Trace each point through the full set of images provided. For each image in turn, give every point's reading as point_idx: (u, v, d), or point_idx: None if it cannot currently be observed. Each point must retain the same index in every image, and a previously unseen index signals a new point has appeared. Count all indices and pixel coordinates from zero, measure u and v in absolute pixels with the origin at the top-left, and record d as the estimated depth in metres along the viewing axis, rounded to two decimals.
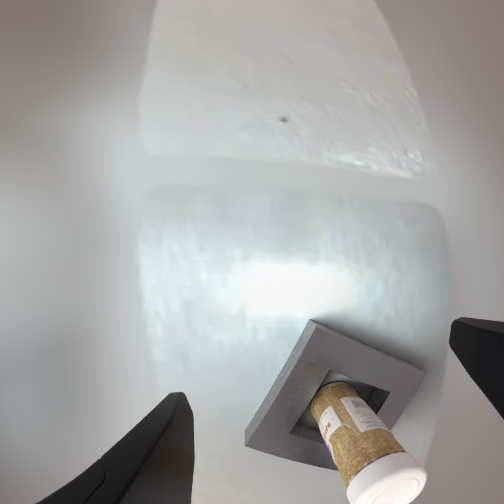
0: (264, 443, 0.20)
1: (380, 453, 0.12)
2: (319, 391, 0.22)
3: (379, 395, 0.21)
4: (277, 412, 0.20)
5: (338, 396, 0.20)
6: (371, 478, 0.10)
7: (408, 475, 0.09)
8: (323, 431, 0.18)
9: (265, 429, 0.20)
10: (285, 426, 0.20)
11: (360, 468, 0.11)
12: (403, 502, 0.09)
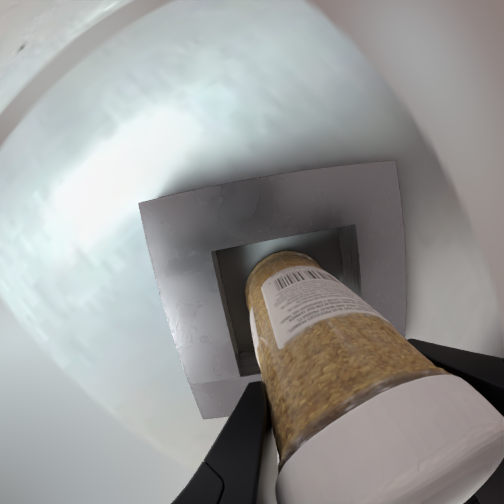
0: (222, 404, 0.14)
1: (314, 417, 0.04)
2: (245, 289, 0.15)
3: (347, 239, 0.14)
4: (195, 357, 0.13)
5: (261, 282, 0.12)
6: None
7: (418, 493, 0.02)
8: None
9: (203, 387, 0.14)
10: (225, 369, 0.13)
11: (280, 469, 0.04)
12: (464, 497, 0.03)
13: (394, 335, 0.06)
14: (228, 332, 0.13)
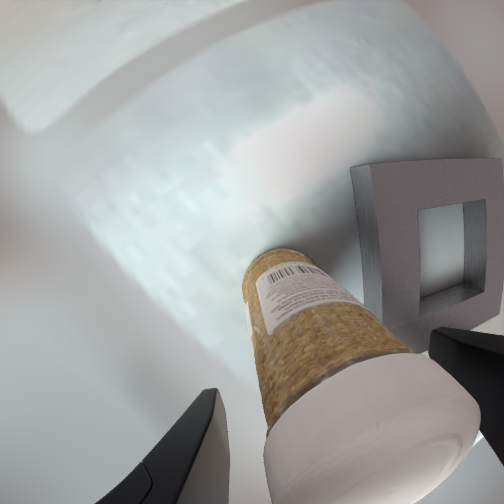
0: None
1: (294, 389, 0.05)
2: (243, 285, 0.16)
3: (474, 211, 0.15)
4: (393, 303, 0.15)
5: (255, 278, 0.13)
6: (272, 479, 0.04)
7: (381, 454, 0.03)
8: None
9: None
10: (411, 313, 0.15)
11: None
12: (441, 472, 0.03)
13: (371, 321, 0.07)
14: (418, 278, 0.14)
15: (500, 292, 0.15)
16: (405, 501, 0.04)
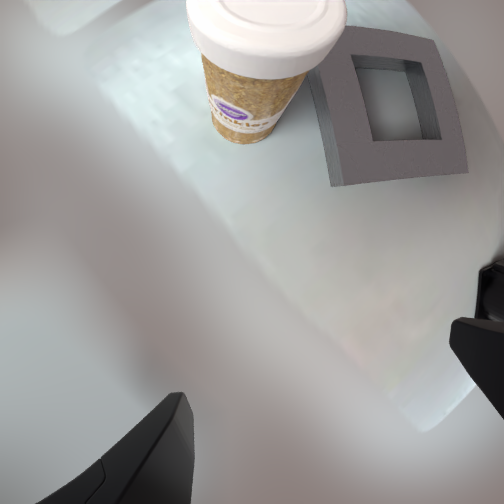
0: (360, 167, 0.17)
1: None
2: None
3: (416, 77, 0.17)
4: (342, 119, 0.16)
5: None
6: None
7: None
8: (215, 111, 0.14)
9: (347, 147, 0.17)
10: (363, 132, 0.17)
11: None
12: (318, 1, 0.05)
13: None
14: (363, 104, 0.16)
15: (462, 149, 0.17)
16: (299, 18, 0.05)
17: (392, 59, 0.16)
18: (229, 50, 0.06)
